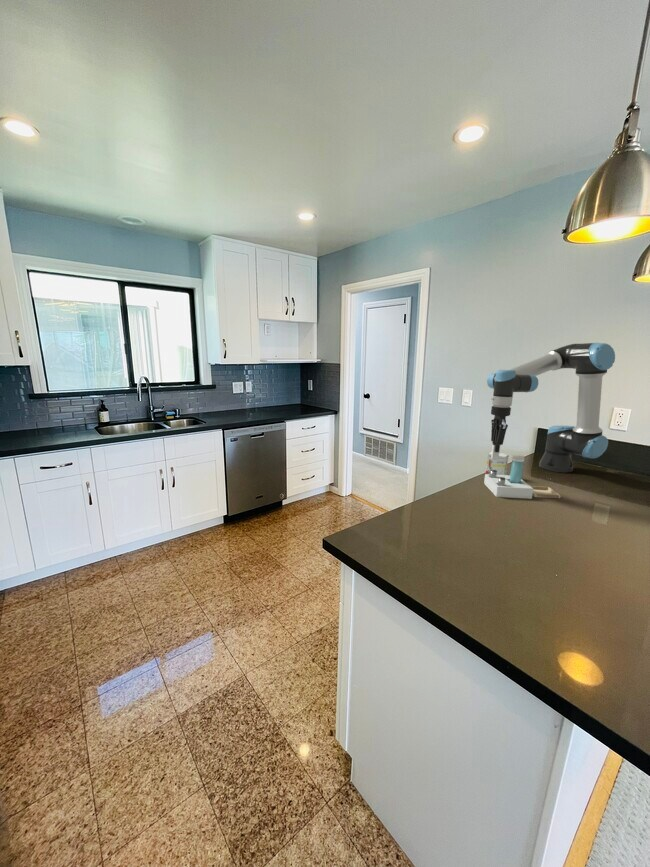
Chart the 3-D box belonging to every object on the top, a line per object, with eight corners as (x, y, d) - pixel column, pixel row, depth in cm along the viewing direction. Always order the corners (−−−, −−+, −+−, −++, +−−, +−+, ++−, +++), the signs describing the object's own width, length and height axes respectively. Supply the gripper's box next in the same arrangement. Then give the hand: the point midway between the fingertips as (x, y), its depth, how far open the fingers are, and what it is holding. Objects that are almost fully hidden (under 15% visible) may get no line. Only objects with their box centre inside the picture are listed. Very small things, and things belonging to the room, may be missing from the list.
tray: (524, 489, 156) (524, 485, 156) (548, 490, 155) (548, 486, 155) (534, 498, 147) (535, 494, 146) (560, 499, 145) (560, 495, 145)
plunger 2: (496, 488, 150) (497, 476, 149) (502, 488, 150) (504, 477, 149) (498, 490, 148) (499, 478, 146) (504, 491, 147) (506, 479, 146)
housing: (483, 484, 162) (485, 474, 161) (515, 486, 160) (517, 475, 159) (496, 498, 147) (497, 486, 145) (531, 499, 145) (533, 488, 144)
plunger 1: (488, 480, 160) (489, 469, 159) (494, 480, 159) (495, 469, 158) (490, 482, 157) (491, 471, 156) (496, 482, 157) (497, 471, 156)
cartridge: (505, 488, 156) (510, 454, 152) (517, 489, 155) (522, 454, 152) (510, 492, 151) (514, 457, 148) (521, 493, 150) (526, 457, 147)
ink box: (484, 476, 174) (487, 453, 171) (487, 473, 177) (490, 451, 175) (503, 480, 168) (506, 456, 166) (505, 477, 172) (508, 454, 169)
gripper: (487, 403, 158) (481, 454, 163) (497, 407, 145) (490, 462, 150) (504, 404, 157) (498, 455, 162) (516, 408, 144) (509, 463, 149)
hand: (494, 458), depth 156 cm, fingers closed
